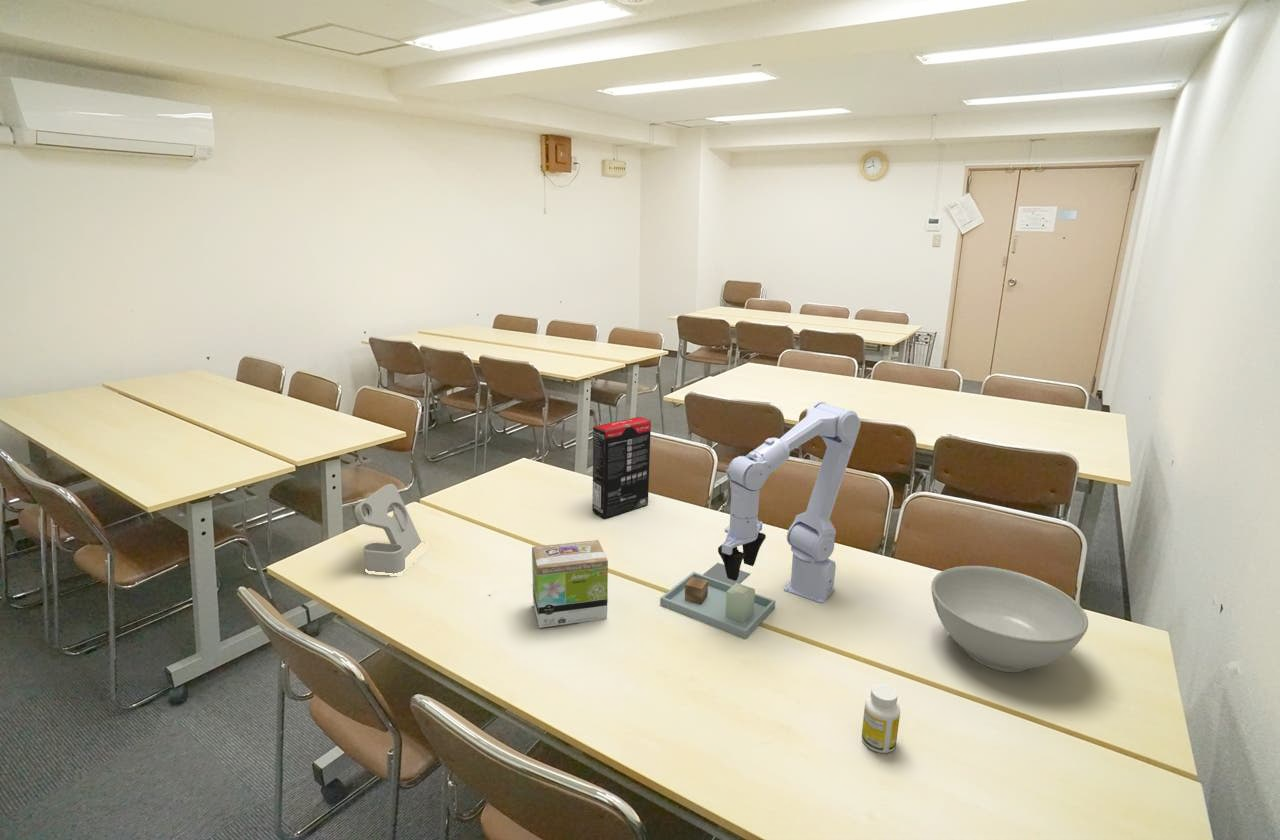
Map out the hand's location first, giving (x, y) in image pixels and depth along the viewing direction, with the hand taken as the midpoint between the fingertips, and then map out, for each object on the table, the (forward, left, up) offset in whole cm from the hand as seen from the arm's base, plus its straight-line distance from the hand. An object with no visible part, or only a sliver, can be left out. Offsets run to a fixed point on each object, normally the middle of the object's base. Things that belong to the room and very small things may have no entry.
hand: (740, 571), depth 140 cm
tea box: (+30, +21, -11) cm, 38 cm away
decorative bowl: (-48, -19, -11) cm, 52 cm away
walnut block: (+10, 0, -10) cm, 15 cm away
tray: (+5, 0, -10) cm, 12 cm away
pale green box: (-1, 0, -10) cm, 10 cm away
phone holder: (+81, +29, -11) cm, 87 cm away
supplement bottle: (-36, +19, -11) cm, 42 cm away
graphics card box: (+54, -29, -11) cm, 62 cm away
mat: (+10, -12, -10) cm, 19 cm away
